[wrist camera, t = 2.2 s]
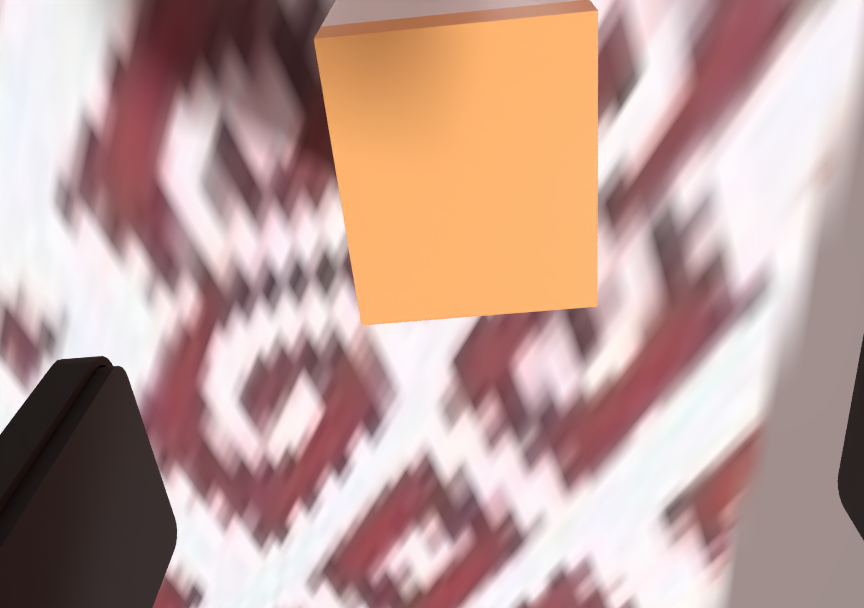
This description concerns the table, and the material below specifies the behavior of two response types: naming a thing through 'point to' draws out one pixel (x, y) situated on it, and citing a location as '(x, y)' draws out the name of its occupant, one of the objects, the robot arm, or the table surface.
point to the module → (465, 153)
